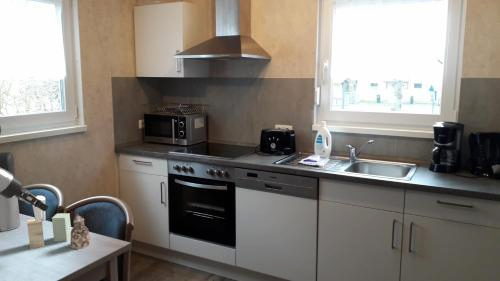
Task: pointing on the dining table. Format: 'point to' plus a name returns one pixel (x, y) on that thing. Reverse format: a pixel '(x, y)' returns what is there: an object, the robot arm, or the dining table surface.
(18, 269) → the dining table surface
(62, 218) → the sage block
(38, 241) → the beech block
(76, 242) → the figurine
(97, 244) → the dining table surface
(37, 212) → the milkshake
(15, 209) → the robot arm
